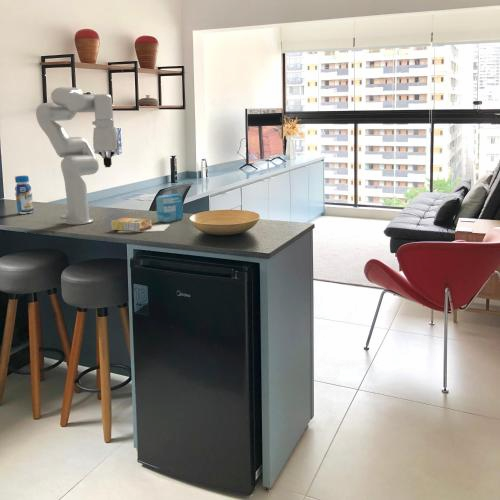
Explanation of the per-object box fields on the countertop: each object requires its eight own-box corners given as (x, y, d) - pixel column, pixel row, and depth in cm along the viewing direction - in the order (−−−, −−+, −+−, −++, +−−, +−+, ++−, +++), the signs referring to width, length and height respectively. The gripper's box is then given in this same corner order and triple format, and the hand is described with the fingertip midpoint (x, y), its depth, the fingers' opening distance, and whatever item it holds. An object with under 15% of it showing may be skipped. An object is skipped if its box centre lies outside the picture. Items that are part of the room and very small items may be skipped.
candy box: (123, 217, 265) (151, 218, 259) (124, 226, 266) (152, 228, 260) (110, 220, 258) (139, 222, 251) (111, 230, 258) (140, 232, 252)
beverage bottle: (22, 212, 323) (18, 175, 318) (37, 211, 322) (32, 175, 317) (14, 214, 315) (9, 177, 310) (29, 214, 313) (25, 176, 309)
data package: (163, 222, 274) (161, 197, 271) (157, 221, 277) (155, 196, 275) (183, 219, 282) (182, 194, 280) (177, 218, 285) (176, 193, 283)
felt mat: (117, 232, 255) (117, 231, 254) (126, 226, 269) (126, 225, 269) (163, 231, 253) (163, 230, 253) (170, 224, 268) (170, 224, 268)
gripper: (84, 124, 250) (88, 168, 255) (119, 124, 249) (122, 167, 254) (90, 124, 258) (94, 166, 262) (124, 123, 257) (127, 166, 261)
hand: (108, 166), depth 258 cm, fingers closed
